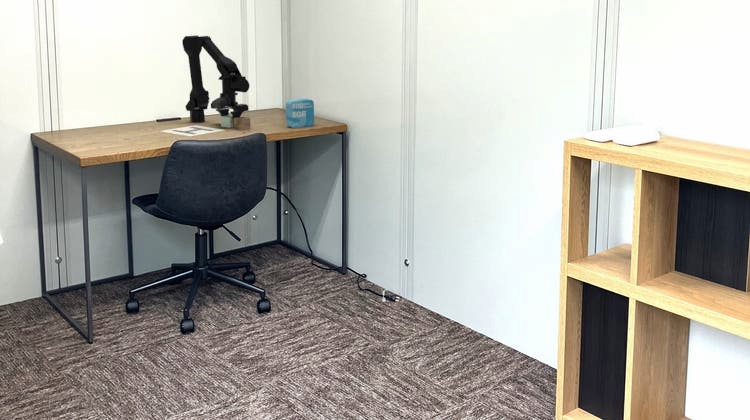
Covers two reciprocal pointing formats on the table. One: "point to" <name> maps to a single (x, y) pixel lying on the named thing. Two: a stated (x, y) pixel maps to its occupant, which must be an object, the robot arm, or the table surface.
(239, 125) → the walnut block
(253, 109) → the table surface
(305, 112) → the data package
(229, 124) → the sage cube
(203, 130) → the board
